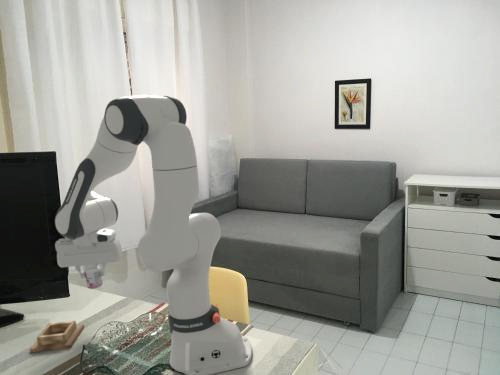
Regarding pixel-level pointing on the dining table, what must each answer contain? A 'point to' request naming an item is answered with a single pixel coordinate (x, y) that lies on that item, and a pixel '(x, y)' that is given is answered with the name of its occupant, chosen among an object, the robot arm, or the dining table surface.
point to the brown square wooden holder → (57, 336)
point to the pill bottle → (93, 276)
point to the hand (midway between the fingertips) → (93, 276)
